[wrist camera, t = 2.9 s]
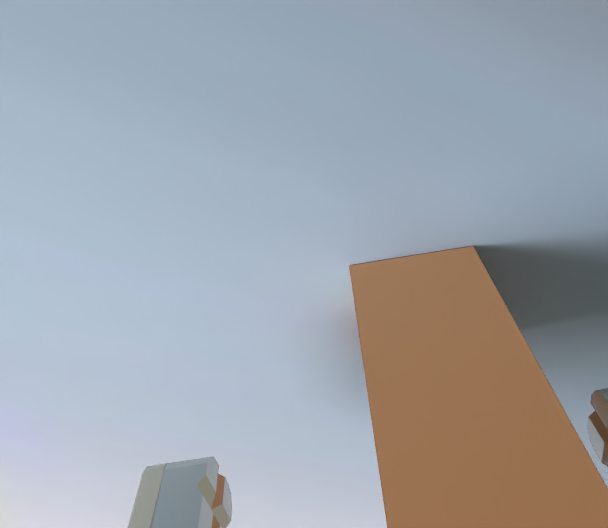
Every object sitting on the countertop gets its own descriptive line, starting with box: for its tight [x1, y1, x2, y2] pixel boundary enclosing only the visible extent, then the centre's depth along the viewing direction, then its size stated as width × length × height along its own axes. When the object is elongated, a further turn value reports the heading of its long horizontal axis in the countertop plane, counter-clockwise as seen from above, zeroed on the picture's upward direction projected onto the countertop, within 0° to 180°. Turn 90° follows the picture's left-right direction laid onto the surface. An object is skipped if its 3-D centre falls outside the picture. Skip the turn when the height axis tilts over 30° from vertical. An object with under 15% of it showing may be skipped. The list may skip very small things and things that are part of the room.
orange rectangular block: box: [349, 246, 608, 528], centre depth 11 cm, size 4×4×10 cm
